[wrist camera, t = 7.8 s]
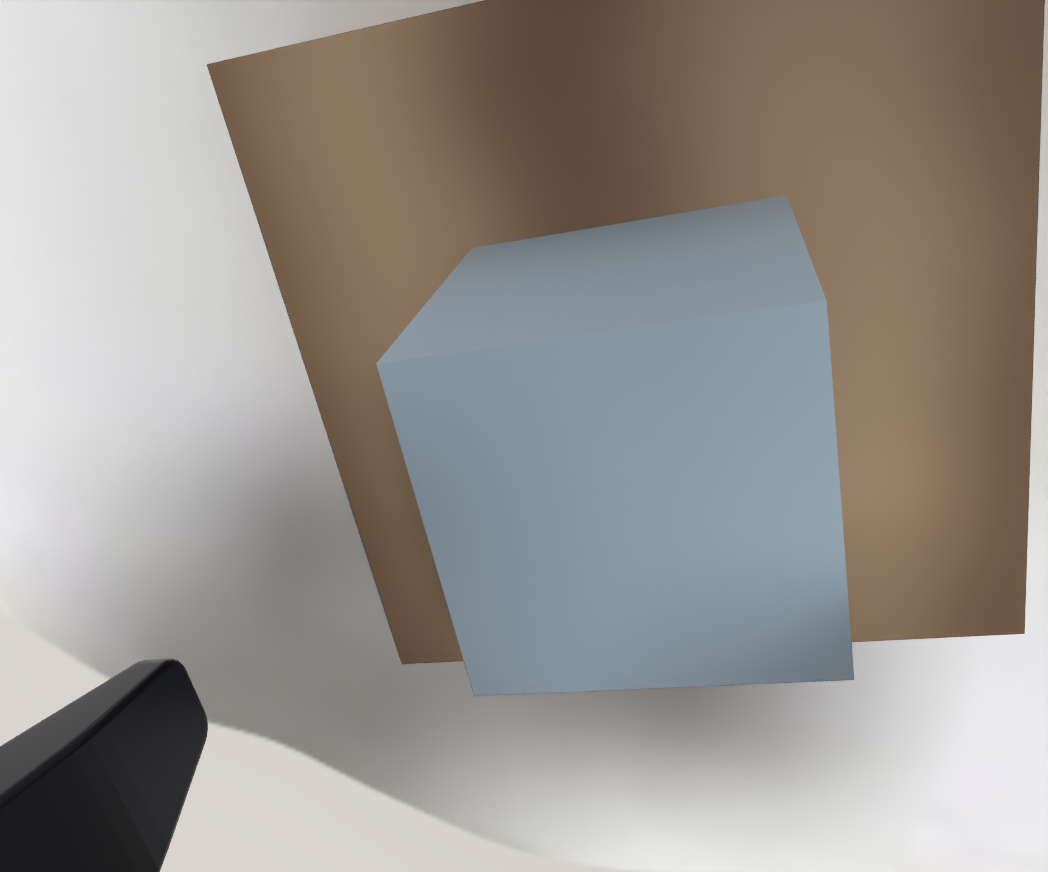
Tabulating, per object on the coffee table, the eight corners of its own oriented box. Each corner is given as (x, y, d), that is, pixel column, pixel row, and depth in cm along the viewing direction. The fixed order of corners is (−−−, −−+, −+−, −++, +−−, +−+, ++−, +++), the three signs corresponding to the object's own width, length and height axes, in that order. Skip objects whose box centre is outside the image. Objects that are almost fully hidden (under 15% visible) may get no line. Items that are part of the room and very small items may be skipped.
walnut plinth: (983, -112, 14) (1049, -131, 12) (980, 542, 19) (1024, 633, 16) (283, 49, 17) (207, 64, 14) (437, 580, 22) (401, 664, 19)
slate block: (786, 195, 14) (827, 300, 9) (811, 482, 16) (854, 679, 11) (471, 248, 15) (376, 363, 11) (533, 509, 17) (474, 696, 13)
